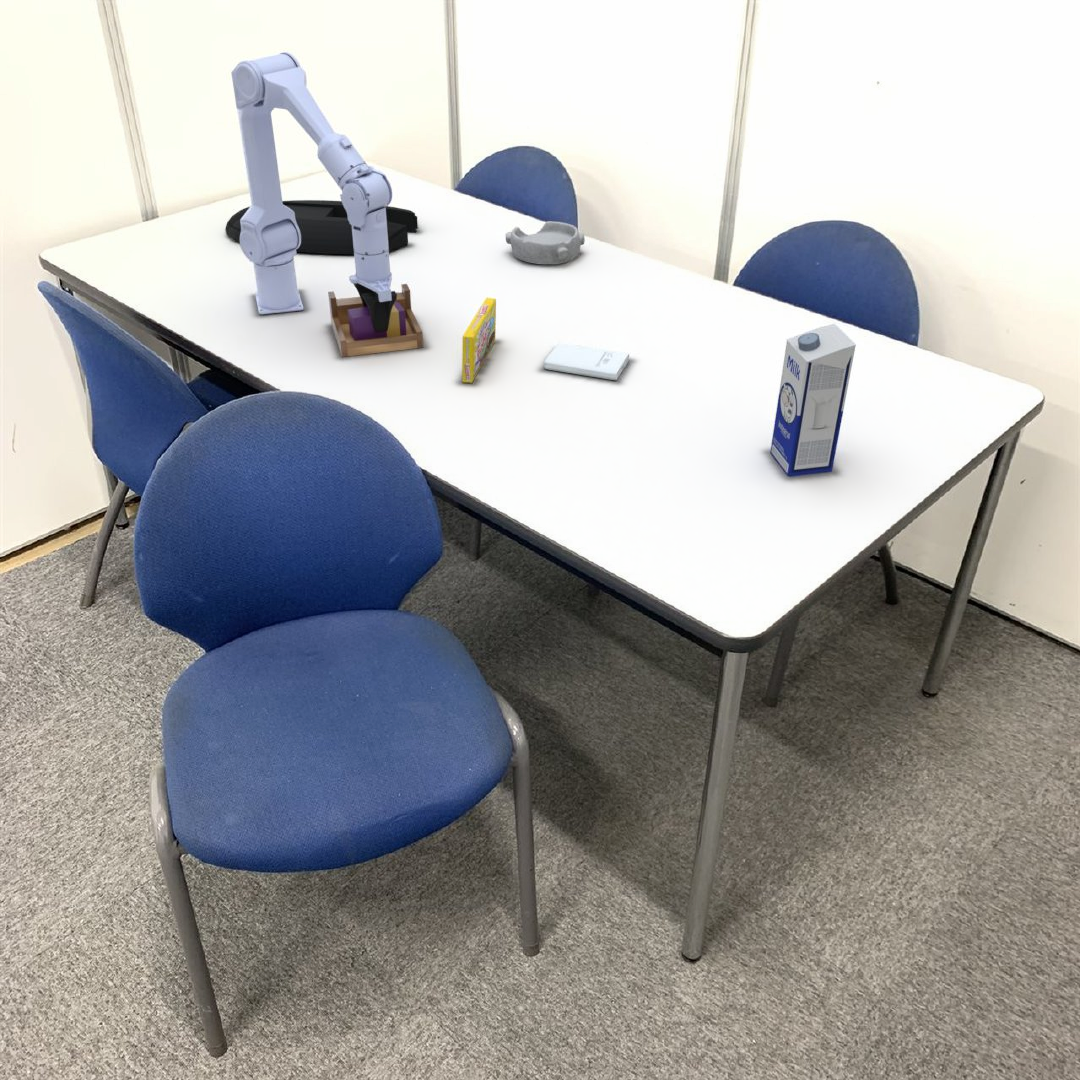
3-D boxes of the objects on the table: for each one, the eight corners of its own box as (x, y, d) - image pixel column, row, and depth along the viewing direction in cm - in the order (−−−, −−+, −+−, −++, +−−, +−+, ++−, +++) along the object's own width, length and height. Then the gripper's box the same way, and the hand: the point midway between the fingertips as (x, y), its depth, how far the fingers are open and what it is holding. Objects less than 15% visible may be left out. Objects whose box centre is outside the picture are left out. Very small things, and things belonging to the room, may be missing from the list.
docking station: (249, 208, 247) (246, 186, 244) (426, 219, 243) (425, 196, 240) (207, 248, 227) (203, 224, 224) (399, 260, 222) (397, 236, 219)
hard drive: (559, 350, 189) (629, 360, 186) (543, 370, 183) (616, 381, 179) (559, 341, 188) (629, 351, 185) (543, 361, 182) (616, 372, 178)
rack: (331, 326, 196) (327, 291, 192) (409, 317, 199) (406, 283, 196) (341, 357, 186) (338, 321, 182) (423, 347, 189) (421, 312, 186)
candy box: (474, 384, 178) (473, 337, 174) (461, 383, 179) (459, 336, 174) (497, 342, 191) (496, 297, 187) (485, 341, 192) (484, 296, 187)
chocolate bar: (349, 333, 190) (347, 309, 188) (400, 325, 193) (398, 301, 190) (355, 343, 187) (353, 318, 184) (406, 334, 190) (404, 310, 187)
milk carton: (832, 472, 157) (856, 343, 145) (788, 477, 156) (809, 347, 144) (812, 447, 163) (834, 321, 151) (769, 452, 161) (788, 325, 150)
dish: (498, 256, 225) (497, 232, 222) (542, 238, 233) (542, 214, 230) (552, 273, 217) (552, 249, 214) (595, 254, 226) (596, 230, 223)
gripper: (336, 237, 186) (344, 313, 193) (358, 267, 175) (365, 346, 182) (377, 232, 188) (383, 307, 196) (401, 261, 177) (406, 339, 185)
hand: (377, 325), depth 189 cm, fingers closed on chocolate bar, 4 cm apart
